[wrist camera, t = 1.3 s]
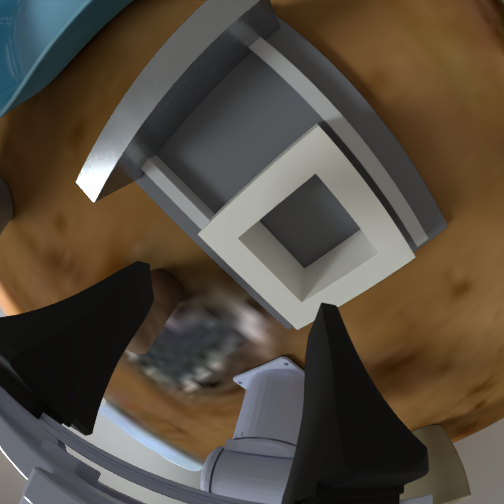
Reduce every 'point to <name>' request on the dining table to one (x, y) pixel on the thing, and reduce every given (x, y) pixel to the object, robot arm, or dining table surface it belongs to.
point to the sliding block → (279, 258)
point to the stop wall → (173, 89)
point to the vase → (5, 205)
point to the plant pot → (439, 470)
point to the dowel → (157, 310)
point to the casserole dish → (44, 41)
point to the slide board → (278, 140)
